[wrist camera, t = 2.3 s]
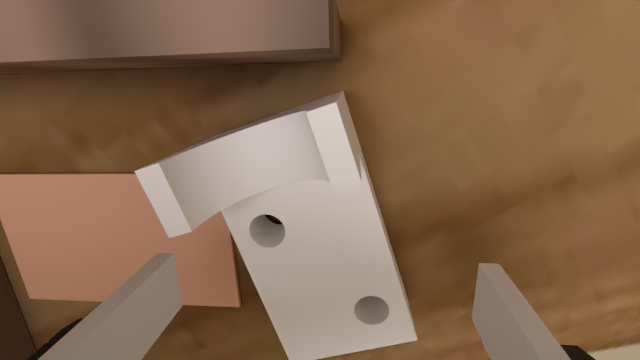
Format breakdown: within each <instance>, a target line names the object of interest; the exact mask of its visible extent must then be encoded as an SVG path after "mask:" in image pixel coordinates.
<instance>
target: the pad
mask: <svg viewBox="0 0 640 360" xmlns="http://www.w3.org/2000/svg"><path fill="white" fill-rule="evenodd" d="M0 220H1V223H2V225H3V228H4V231H5V233H6V236H7V239H8V241H9V244H10V247H11V249H12V252H13V255H14V258H15V260H16V263H17V266H18V268H19V271H20V274H21V276H22V279H23V282H24V285H25V287H26V290H27V293H28V295H29V298H30V299H45V300H70V301H95V302H103V301H104V300H105V299H106V298H108V297H109V296H110V295H111V294H112V293H113V292H114V291H116V290H117V289H118V288H119V287H120V286H121V285H122V284H123V283H125V282H126V281H127V280H128V279H129V278H130V277H131V276H132V275H134V274H135V273H136V272H137V271H138V270H139V269H140V268H141V267H143V266H144V265H145V264H146V263H147V262H148V261H149V260H150V259H152V258H153V257H154V256H155V255H156V254H157V253H171V254H174V259H175V264H176V269H177V274H178V279H179V284H180V289H181V295H182V300H183V305H195V306H220V307H240V306H241V298H240V290H239V283H238V275H237V267H236V260H235V252H234V245H233V237H232V234H231V232H230V230H229V228H228V225H227V223H226V221H225V219H224V217H223V214H222V212H221V211H220V212H218V213H216V214H215V215H213V216H212V217H210V218H209V219H207V220H206V221H204V222H203V223H202V224H200V225H199V226H198V227H197V228H195V229H194V230H193V231H192V232H189V233H185V234H182V235H178V236H175V237H172V238H169V237H168V235H167V233H166V231H165V229H164V227H163V226H162V224H161V222H160V220H159V218H158V216H157V214H156V212H155V210H154V208H153V206H152V204H151V202H150V200H149V199H148V197H147V195H146V193H145V191H144V189H143V187H142V185H141V183H140V181H139V179H138V177H137V175H136V173H0Z"/></svg>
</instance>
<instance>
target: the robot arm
mask: <svg viewBox="0 0 640 360" xmlns="http://www.w3.org/2000/svg"><path fill="white" fill-rule="evenodd" d="M182 306H183V300H182V295H181V289H180V284H179V279H178V274H177V269H176V264H175V259H174V254H171V253H157V254H156V255H155V256H154V257H153V258H152V259H150V260H149V261H148V262H147V263H146V264H145V265H144V266H143V267H141V268H140V269H139V270H138V271H137V272H136V273H135V274H134V275H132V276H131V277H130V278H129V279H128V280H127V281H126V282H125V283H123V284H122V285H121V286H120V287H119V288H118V289H117V290H116V291H114V292H113V293H112V294H111V295H110V296H109V297H108V298H106V299H105V300H104V301H103V302H102V303H101V304H100V305H99V306H97V307H96V308H95V309H94V310H93V311H92V312H91V313H90V314H88V315H87V316H86V317H85V318H80V319H78V320H77V321H75V322H73V323H72V324H70V325H68V326H66V327H65V328H63V329H62V330H61V331H60V332H58V333H57V334H56V335H55V336H54V337H53V338H51V339H50V340H49V343H46V344H44V345H43V346H42V347H41V348H40V349H39V350H38V351H37V353H34V354H33V355H32V356H31V357H29V358H28V359H27V360H142V358H143V357H144V356H145V354H146V353H147V352H148V350H149V349H150V348H151V346H152V345H153V344H154V343H155V341H156V340H157V339H158V337H159V336H160V335H161V333H162V332H163V331H164V329H165V328H166V327H167V325H168V324H169V323H170V322H171V320H172V319H173V318H174V316H175V315H176V314H177V312H178V311H179V310H180V308H181V307H182ZM472 321H473V323H474V325H475V327H476V330H477V332H478V334H479V336H480V338H481V340H482V343H483V345H484V347H485V349H486V351H487V353H488V355H489V358H490V360H595V359H594V358H592V357H591V356H590V355H589V354H587V353H586V352H585V351H583V350H582V349H581V348H579V347H578V346H573V345H560V344H559V343H558V342H557V340H556V339H555V338H554V336H553V335H552V334H551V332H550V331H549V330H548V328H547V327H546V326H545V324H544V323H543V322H542V320H541V319H540V318H539V316H538V315H537V314H536V312H535V311H534V310H533V308H532V307H531V306H530V304H529V303H528V302H527V300H526V299H525V298H524V296H523V295H522V294H521V292H520V291H519V290H518V288H517V287H516V286H515V284H514V283H513V282H512V280H511V279H510V278H509V276H508V275H507V274H506V272H505V271H504V270H503V268H502V267H501V265H500V264H498V263H479V267H478V274H477V282H476V289H475V297H474V304H473V312H472Z"/></svg>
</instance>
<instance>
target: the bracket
mask: <svg viewBox="0 0 640 360" xmlns="http://www.w3.org/2000/svg"><path fill="white" fill-rule="evenodd" d="M134 172H135V173H136V175H137V177H138V179H139V181H140V183H141V185H142V187H143V189H144V191H145V193H146V195H147V197H148V199H149V200H150V202H151V204H152V206H153V208H154V210H155V212H156V214H157V216H158V218H159V220H160V222H161V224H162V226H163V227H164V229H165V231H166V233H167V235H168V237H169V238H172V237H175V236H178V235H182V234H185V233H189V232H192V231H193V230H194V229H195V228H197V227H198V226H199V225H200V224H202V223H203V222H204V221H206V220H207V219H209V218H210V217H212V216H213V215H215V214H216V213H218V212H220V211H221V212H222V214H223V217H224V219H225V221H226V223H227V225H228V228H229V230H230V232H231V234H232V236H233V238H234V241H235V243H236V245H237V247H238V249H239V252H240V254H241V256H242V258H243V260H244V263H245V265H246V267H247V269H248V271H249V273H250V276H251V278H252V280H253V282H254V284H255V287H256V289H257V291H258V293H259V295H260V297H261V300H262V302H263V304H264V306H265V308H266V311H267V313H268V315H269V317H270V319H271V322H272V324H273V326H274V328H275V330H276V332H277V335H278V337H279V339H280V341H281V343H282V346H283V348H284V350H285V352H286V354H287V356H288V359H289V360H315V359H321V358H326V357H331V356H337V355H342V354H347V353H353V352H358V351H363V350H369V349H374V348H379V347H384V346H390V345H395V344H400V343H406V342H411V341H416V340H418V339H417V335H416V331H415V327H414V323H413V319H412V315H411V310H410V306H409V302H408V298H407V295H406V292H405V289H404V285H403V282H402V279H401V276H400V273H399V269H398V266H397V263H396V260H395V256H394V253H393V250H392V247H391V244H390V240H389V237H388V234H387V231H386V227H385V224H384V221H383V218H382V215H381V211H380V208H379V205H378V202H377V198H376V195H375V192H374V189H373V186H372V182H371V179H370V176H369V173H368V169H367V166H366V163H365V160H364V156H363V153H362V150H361V147H360V144H359V140H358V137H357V134H356V131H355V127H354V124H353V121H352V118H351V115H350V111H349V108H348V105H347V102H346V98H345V95H344V92H343V91H340V92H337V93H334V94H331V95H329V96H326V97H323V98H320V99H317V100H314V101H311V102H308V103H306V104H303V105H300V106H297V107H294V108H291V109H288V110H285V111H283V112H280V113H277V114H275V115H272V116H270V117H267V118H264V119H261V120H258V121H255V122H252V123H249V124H247V125H244V126H241V127H238V128H235V129H232V130H229V131H226V132H224V133H221V134H218V135H215V136H213V137H210V138H208V139H206V140H204V141H201V142H199V143H197V144H195V145H192V146H190V147H188V148H186V149H183V150H181V151H179V152H177V153H174V154H172V155H170V156H168V157H165V158H163V159H161V160H158V161H156V162H154V163H152V164H149V165H147V166H145V167H143V168H140V169H138V170H136V171H134ZM265 215H272V216H274V217H276V218H278V219H279V220H280V221H281V222H282V224H275V223H272V222H271V221H269V220H268V219H267V218H266V216H265Z"/></svg>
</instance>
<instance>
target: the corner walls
mask: <svg viewBox="0 0 640 360" xmlns="http://www.w3.org/2000/svg"><path fill="white" fill-rule="evenodd" d="M336 60H341V33H340V16H339V12H338V8H337V4H336V0H0V74H14V73H38V72H63V71H88V70H113V69H138V68H163V67H187V66H212V65H237V64H262V63H287V62H312V61H336ZM34 353H37V352H36V349H35V347H34V344H33V341H32V339H31V336H30V334H29V331H28V328H27V326H26V323H25V321H24V318H23V316H22V313H21V310H20V308H19V305H18V303H17V300H16V297H15V295H14V292H13V290H12V287H11V284H10V282H9V279H8V277H7V274H6V272H5V269H4V266H3V264H2V261H1V259H0V360H27V359H28V358H29V357H31V356H32V355H33V354H34Z"/></svg>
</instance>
